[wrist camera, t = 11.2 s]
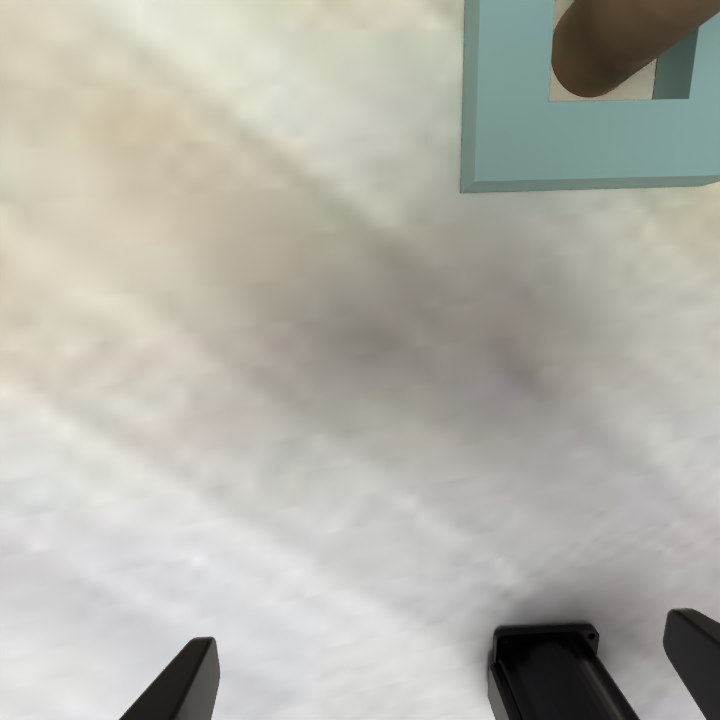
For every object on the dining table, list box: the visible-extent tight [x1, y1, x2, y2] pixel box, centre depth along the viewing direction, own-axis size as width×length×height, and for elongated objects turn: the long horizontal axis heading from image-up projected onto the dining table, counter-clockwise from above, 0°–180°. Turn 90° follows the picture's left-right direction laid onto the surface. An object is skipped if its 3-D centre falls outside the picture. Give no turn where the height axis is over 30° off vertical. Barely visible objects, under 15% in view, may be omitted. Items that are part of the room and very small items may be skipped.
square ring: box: [460, 0, 720, 193], centre depth 16 cm, size 12×12×2 cm
